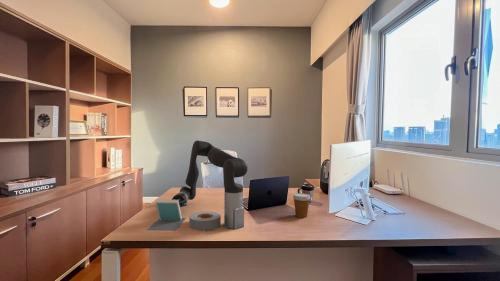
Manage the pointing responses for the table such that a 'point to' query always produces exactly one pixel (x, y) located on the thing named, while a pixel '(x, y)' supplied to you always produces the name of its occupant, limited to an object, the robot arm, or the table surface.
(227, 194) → the robot arm
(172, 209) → the tile
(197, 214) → the tape roll
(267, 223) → the table surface
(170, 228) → the mat
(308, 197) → the disposable coffee cup
